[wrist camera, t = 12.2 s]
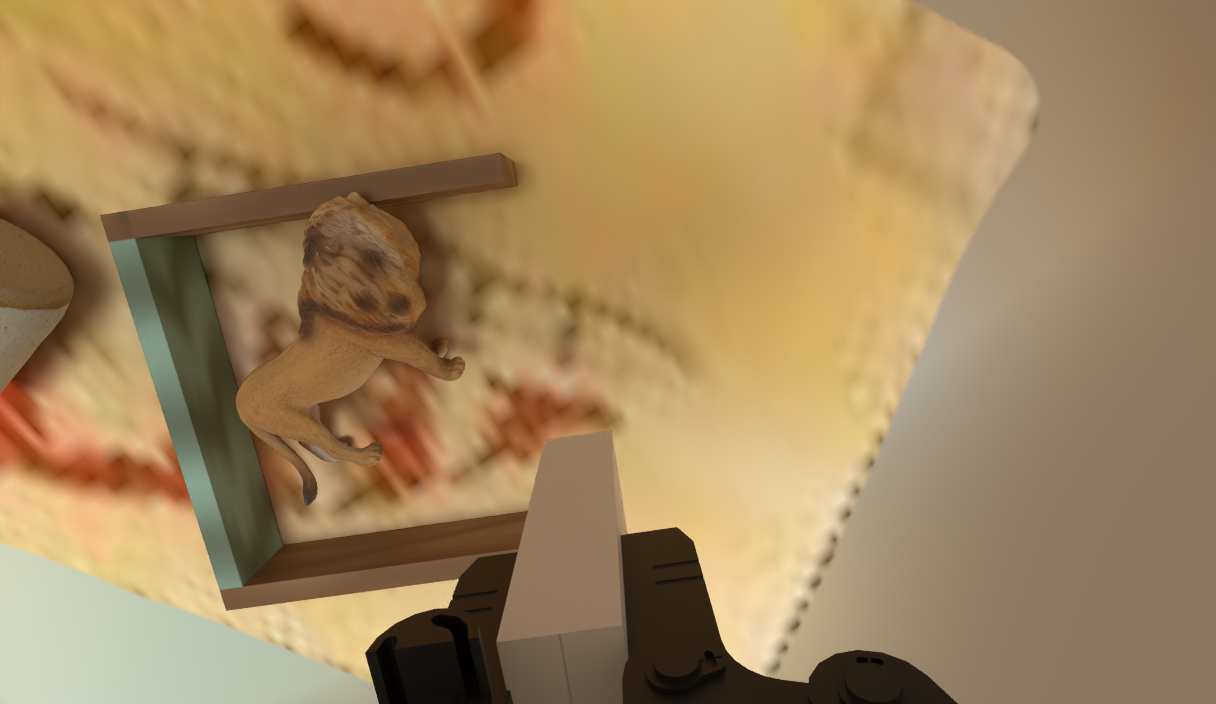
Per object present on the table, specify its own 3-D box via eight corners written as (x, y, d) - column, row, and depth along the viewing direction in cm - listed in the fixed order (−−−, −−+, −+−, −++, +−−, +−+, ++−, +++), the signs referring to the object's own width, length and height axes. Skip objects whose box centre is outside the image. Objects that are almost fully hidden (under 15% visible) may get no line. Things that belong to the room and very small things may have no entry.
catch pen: (163, 215, 31) (100, 215, 27) (513, 161, 31) (499, 152, 27) (268, 567, 35) (226, 610, 31) (576, 524, 35) (573, 563, 31)
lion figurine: (483, 277, 33) (337, 165, 28) (516, 315, 29) (350, 191, 24) (314, 480, 34) (137, 410, 28) (321, 545, 30) (116, 477, 24)
